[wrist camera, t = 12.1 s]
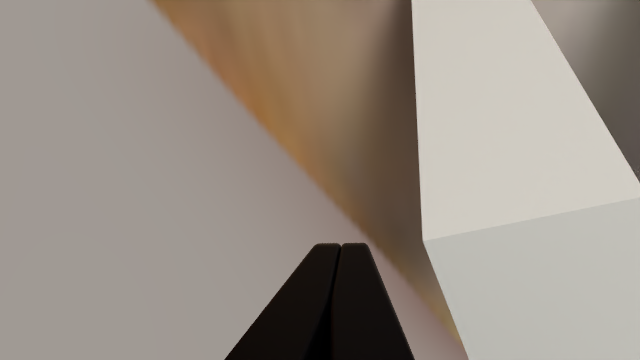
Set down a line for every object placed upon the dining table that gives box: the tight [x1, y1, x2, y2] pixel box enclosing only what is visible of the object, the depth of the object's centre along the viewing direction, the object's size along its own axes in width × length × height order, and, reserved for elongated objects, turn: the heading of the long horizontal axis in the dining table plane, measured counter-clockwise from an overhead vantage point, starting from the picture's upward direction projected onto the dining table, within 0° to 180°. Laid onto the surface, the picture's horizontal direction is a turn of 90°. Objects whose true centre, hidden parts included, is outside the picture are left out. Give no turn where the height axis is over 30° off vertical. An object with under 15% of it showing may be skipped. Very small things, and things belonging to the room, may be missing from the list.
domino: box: [412, 0, 640, 360], centre depth 10 cm, size 2×5×10 cm, turn 22°
